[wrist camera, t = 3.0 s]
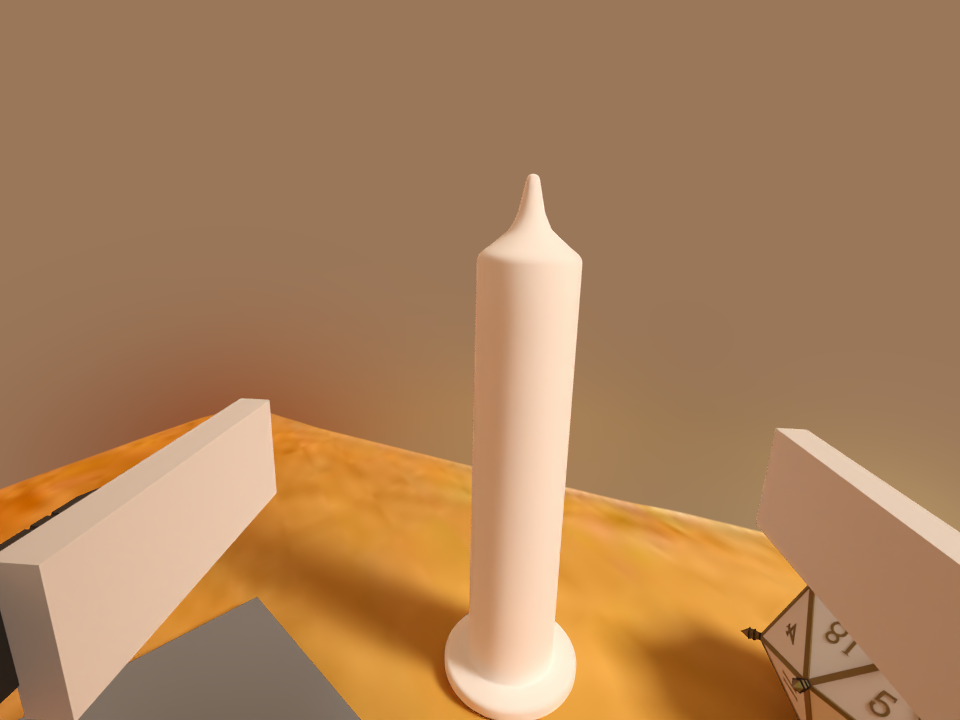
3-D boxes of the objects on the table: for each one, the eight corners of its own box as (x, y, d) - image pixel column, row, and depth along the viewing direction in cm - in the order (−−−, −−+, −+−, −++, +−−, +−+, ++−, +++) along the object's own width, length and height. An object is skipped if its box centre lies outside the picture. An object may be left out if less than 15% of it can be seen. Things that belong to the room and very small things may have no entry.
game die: (782, 781, 25) (679, 593, 26) (895, 683, 27) (793, 514, 28) (985, 938, 16) (815, 645, 18) (1127, 776, 18) (964, 527, 20)
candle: (417, 666, 26) (411, 169, 20) (498, 595, 32) (514, 184, 25) (525, 757, 22) (563, 158, 15) (598, 656, 27) (650, 178, 21)
